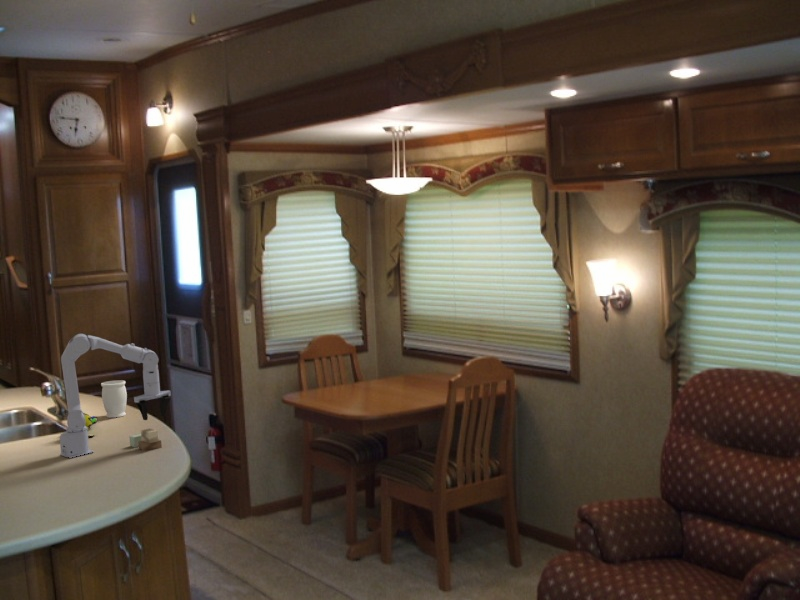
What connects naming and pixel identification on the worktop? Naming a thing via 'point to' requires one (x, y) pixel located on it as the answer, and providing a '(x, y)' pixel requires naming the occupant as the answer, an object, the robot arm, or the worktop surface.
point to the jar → (114, 398)
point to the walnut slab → (149, 445)
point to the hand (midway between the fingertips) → (154, 417)
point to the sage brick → (135, 440)
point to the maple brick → (149, 435)
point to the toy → (90, 421)
